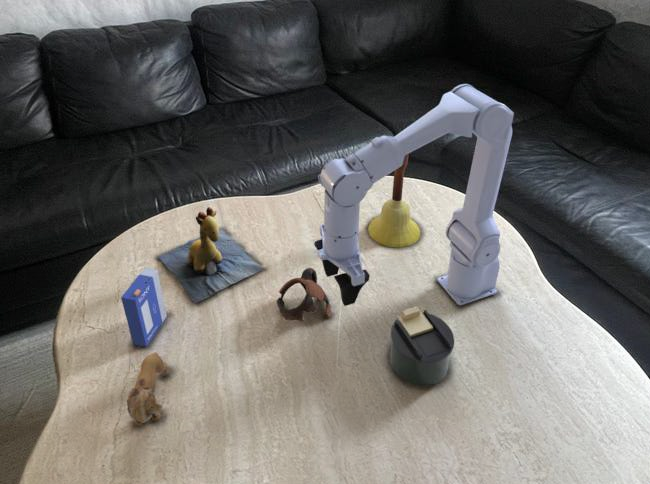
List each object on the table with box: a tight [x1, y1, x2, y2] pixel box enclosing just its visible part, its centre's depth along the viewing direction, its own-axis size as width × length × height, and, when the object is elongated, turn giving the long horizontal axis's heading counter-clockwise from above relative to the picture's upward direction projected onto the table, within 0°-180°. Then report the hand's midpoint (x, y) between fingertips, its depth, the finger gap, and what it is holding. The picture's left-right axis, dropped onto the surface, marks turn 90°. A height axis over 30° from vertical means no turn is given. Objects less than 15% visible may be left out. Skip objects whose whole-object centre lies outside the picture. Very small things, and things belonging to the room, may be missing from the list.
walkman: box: [120, 267, 168, 348], centre depth 94 cm, size 8×3×12 cm, turn 166°
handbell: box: [367, 153, 421, 248], centre depth 116 cm, size 12×12×25 cm
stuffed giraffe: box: [157, 206, 264, 304], centre depth 109 cm, size 16×18×16 cm
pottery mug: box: [276, 267, 332, 323], centre depth 100 cm, size 12×10×8 cm
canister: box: [389, 309, 455, 387], centre depth 88 cm, size 11×11×8 cm
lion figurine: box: [126, 352, 170, 427], centre depth 81 cm, size 15×5×9 cm, turn 13°
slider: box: [396, 306, 433, 337], centre depth 89 cm, size 4×5×2 cm
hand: (340, 288), depth 92 cm, fingers open, 7 cm apart
